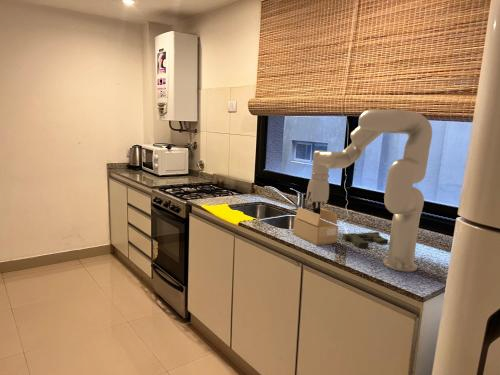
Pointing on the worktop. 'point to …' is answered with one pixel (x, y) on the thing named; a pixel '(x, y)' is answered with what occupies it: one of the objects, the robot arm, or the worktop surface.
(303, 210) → the front flap
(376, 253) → the worktop surface
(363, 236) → the firearm
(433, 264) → the worktop surface
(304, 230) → the carton
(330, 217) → the back flap
